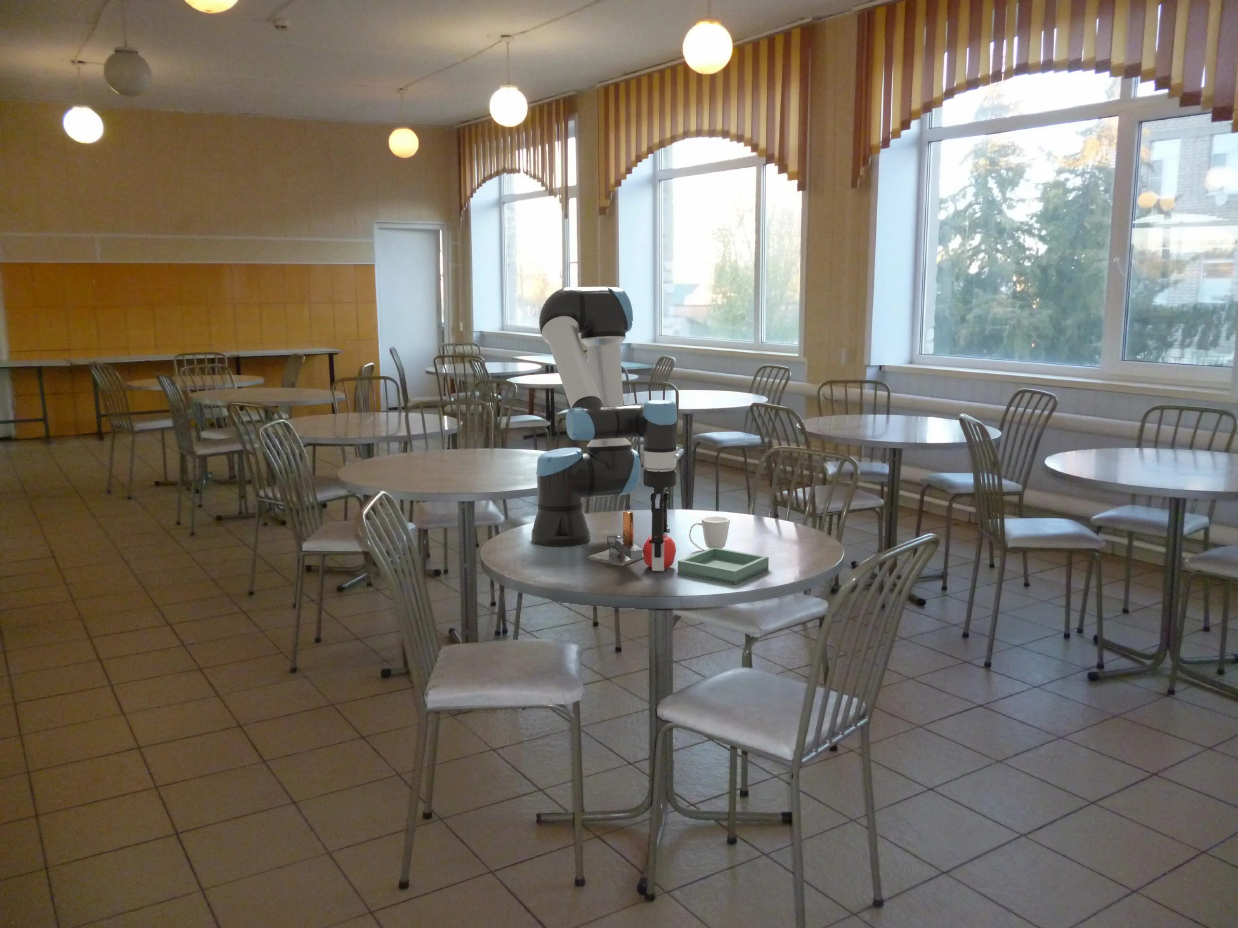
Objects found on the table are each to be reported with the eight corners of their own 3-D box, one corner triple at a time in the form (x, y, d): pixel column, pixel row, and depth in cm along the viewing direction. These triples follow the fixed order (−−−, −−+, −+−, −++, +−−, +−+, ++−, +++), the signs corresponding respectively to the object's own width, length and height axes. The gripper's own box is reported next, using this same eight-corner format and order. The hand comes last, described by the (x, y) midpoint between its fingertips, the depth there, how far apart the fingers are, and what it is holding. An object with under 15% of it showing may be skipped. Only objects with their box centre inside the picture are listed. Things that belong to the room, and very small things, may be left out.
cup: (729, 554, 244) (730, 522, 242) (688, 554, 244) (688, 521, 243) (729, 547, 250) (730, 516, 249) (689, 546, 251) (689, 515, 250)
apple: (654, 560, 238) (654, 527, 236) (682, 565, 234) (683, 531, 232) (635, 568, 231) (635, 534, 230) (665, 573, 227) (665, 539, 226)
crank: (604, 542, 242) (604, 504, 240) (624, 540, 243) (624, 502, 242) (626, 559, 226) (626, 518, 225) (647, 557, 228) (647, 516, 226)
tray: (677, 573, 228) (677, 560, 227) (712, 559, 239) (712, 547, 239) (734, 584, 219) (735, 571, 218) (768, 569, 230) (768, 556, 230)
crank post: (588, 559, 240) (588, 546, 239) (613, 550, 248) (613, 538, 247) (621, 566, 234) (621, 552, 233) (646, 557, 242) (646, 544, 241)
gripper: (673, 477, 218) (672, 578, 222) (679, 461, 238) (678, 554, 242) (638, 476, 219) (638, 577, 223) (647, 460, 239) (647, 553, 243)
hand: (659, 565), depth 232 cm, fingers closed on apple, 8 cm apart
